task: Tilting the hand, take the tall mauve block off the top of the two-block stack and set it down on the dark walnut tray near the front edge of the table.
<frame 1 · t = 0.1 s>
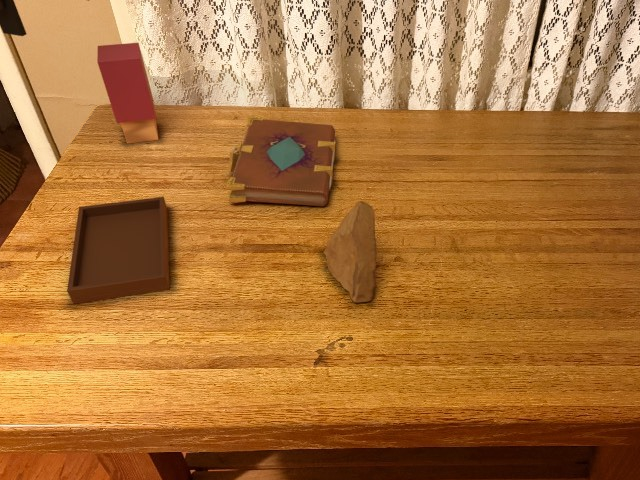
hand: (50, 15, 78), 22 cm above the table, tool pointing down, fingers open, 13 cm apart
book: (284, 164, 96), on the table
base block: (142, 134, 100), on the table, touching top block
top block: (135, 112, 97), point 4 cm above the table, touching base block
rock: (348, 278, 78), on the table
tray: (124, 252, 79), on the table
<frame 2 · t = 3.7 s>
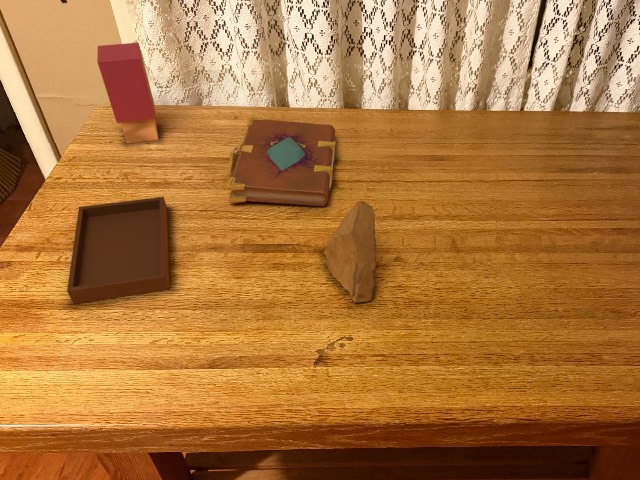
nothing on the table moved.
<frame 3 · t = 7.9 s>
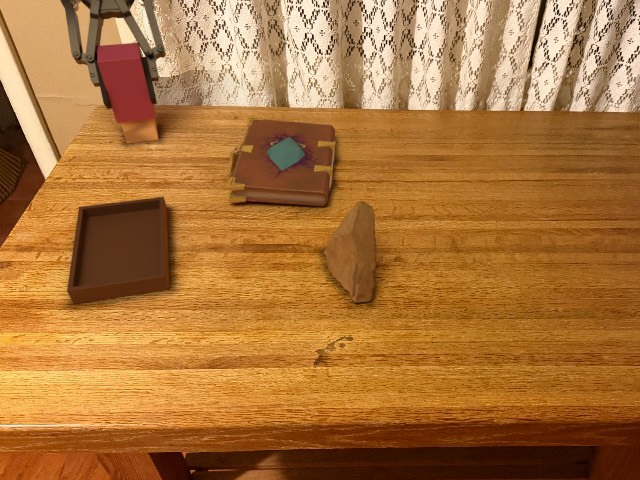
hand: (131, 103, 92), 7 cm above the table, tool tilted 45°, fingers closed on top block, 6 cm apart
top block: (135, 112, 97), point 4 cm above the table, touching base block, gripper
everything else where it was.
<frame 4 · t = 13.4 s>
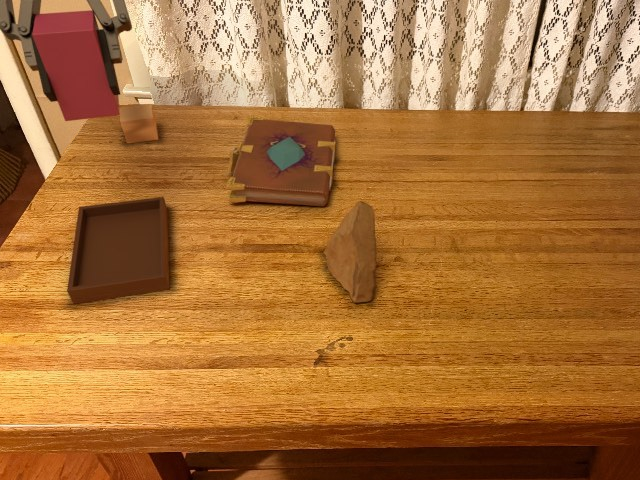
hand: (83, 93, 67), 20 cm above the table, tool tilted 45°, fingers closed on top block, 6 cm apart
base block: (142, 134, 100), on the table
top block: (92, 106, 72), point 17 cm above the table, touching gripper
everything else where it was.
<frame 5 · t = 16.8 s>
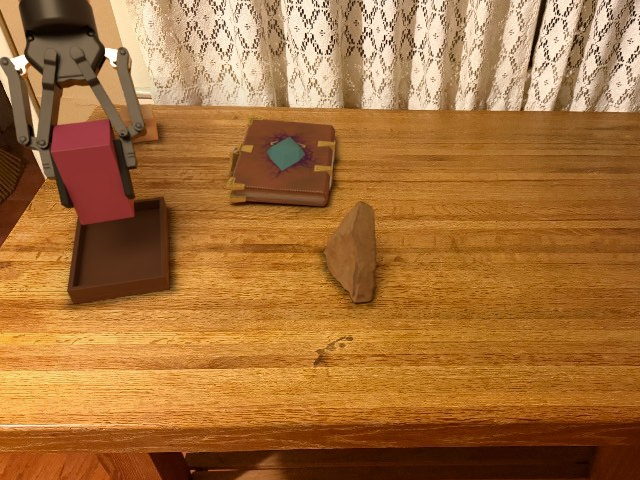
hand: (99, 201, 69), 11 cm above the table, tool tilted 45°, fingers closed on top block, 6 cm apart
top block: (108, 207, 73), point 7 cm above the table, touching gripper
everything else where it was.
when the fingers open (4 cm above the table, at t = 19.1 s): top block stays where it is, resting on tray.
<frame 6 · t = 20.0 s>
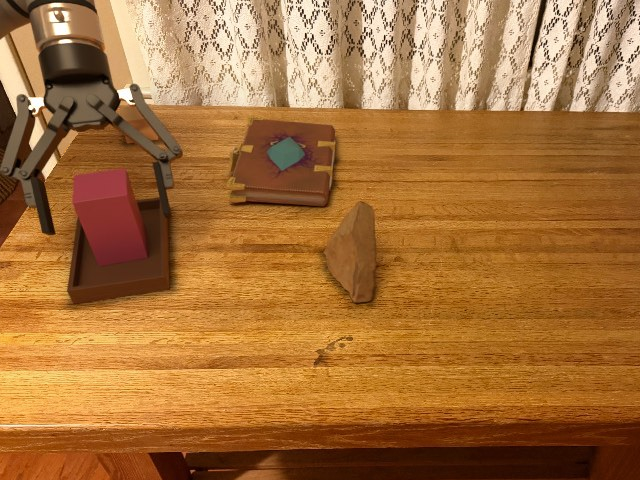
hand: (110, 224, 73), 6 cm above the table, tool tilted 45°, fingers open, 13 cm apart
top block: (123, 248, 78), point 1 cm above the table, touching tray
everything else where it was.
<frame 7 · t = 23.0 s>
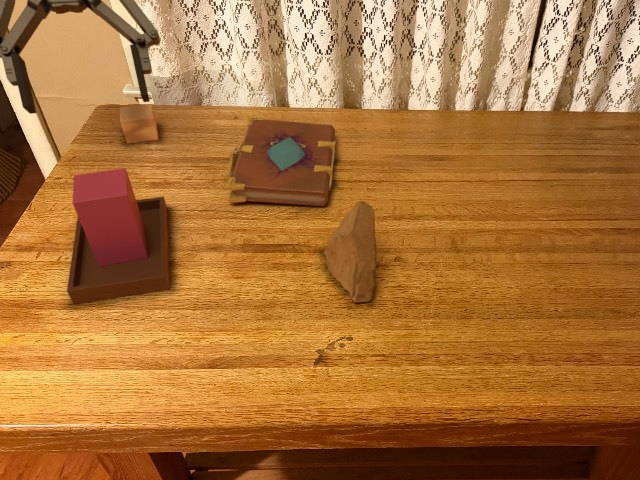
hand: (89, 104, 75), 15 cm above the table, tool tilted 45°, fingers open, 13 cm apart
nothing on the table moved.
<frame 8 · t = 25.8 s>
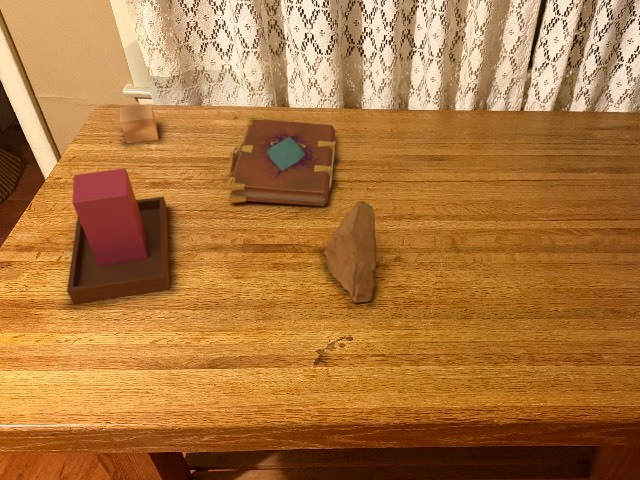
nothing on the table moved.
at the end: top block inside the target area in the tray (0.1 cm from its centre), point 0.8 cm above the tray's base; top block tilted 0°; base block moved 0.0 cm from its start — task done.
